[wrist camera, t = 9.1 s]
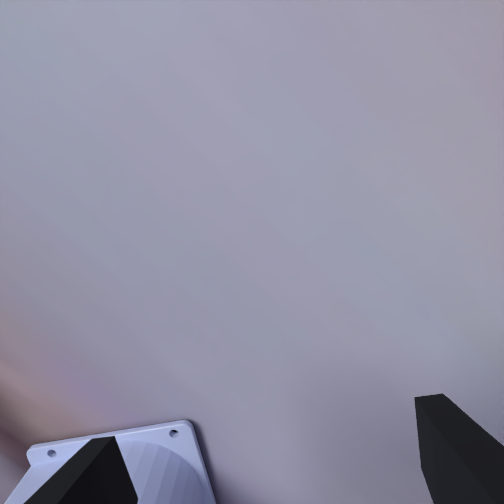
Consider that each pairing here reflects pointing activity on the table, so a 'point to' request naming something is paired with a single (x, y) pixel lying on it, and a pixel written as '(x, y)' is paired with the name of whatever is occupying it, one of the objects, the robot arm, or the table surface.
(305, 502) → the table surface
